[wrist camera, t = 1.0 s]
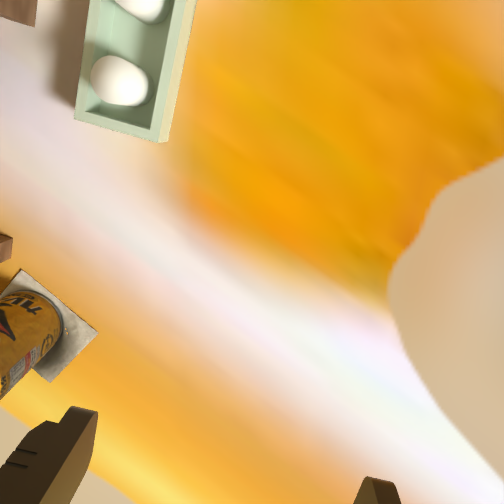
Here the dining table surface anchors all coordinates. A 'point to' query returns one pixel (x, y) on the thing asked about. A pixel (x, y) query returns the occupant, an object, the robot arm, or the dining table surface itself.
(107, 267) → the dining table surface
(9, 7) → the brown wooden side table
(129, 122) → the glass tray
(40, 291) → the condiment
